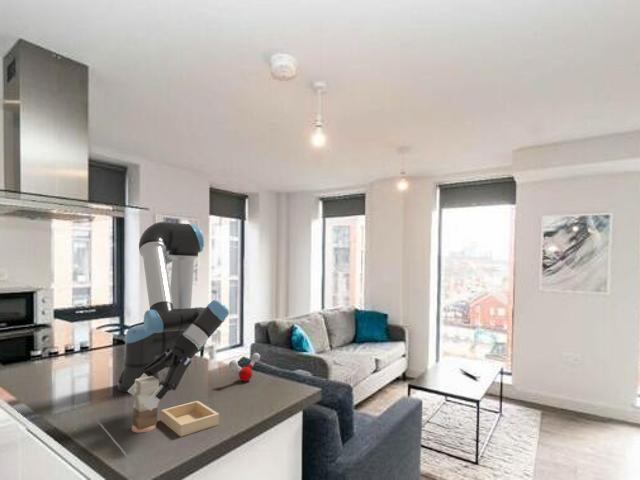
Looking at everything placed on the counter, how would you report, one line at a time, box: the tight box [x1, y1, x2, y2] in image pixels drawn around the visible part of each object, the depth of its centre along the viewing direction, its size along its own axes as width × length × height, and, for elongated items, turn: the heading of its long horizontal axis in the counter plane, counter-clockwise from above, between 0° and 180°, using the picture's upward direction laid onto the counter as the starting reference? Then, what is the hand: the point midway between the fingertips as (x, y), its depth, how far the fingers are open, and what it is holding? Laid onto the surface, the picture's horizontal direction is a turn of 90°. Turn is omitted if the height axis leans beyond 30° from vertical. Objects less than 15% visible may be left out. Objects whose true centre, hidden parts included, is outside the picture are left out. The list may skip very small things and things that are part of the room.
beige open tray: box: [160, 400, 220, 438], centre depth 114 cm, size 14×12×4 cm
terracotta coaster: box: [131, 424, 157, 434], centre depth 109 cm, size 6×6×1 cm
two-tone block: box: [132, 376, 159, 430], centre depth 110 cm, size 5×5×13 cm
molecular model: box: [228, 352, 261, 382], centre depth 155 cm, size 18×6×10 cm, turn 156°
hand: (138, 400), depth 108 cm, fingers open, 13 cm apart
